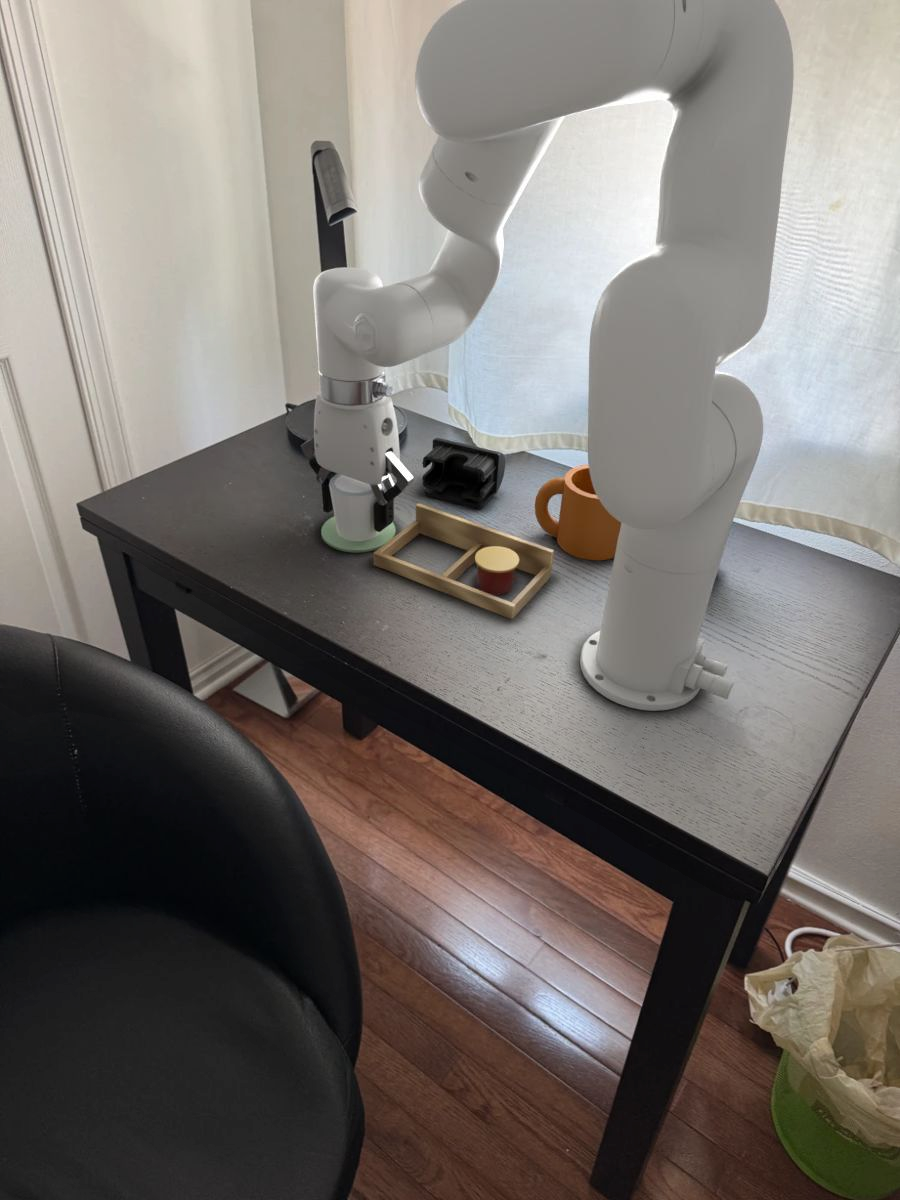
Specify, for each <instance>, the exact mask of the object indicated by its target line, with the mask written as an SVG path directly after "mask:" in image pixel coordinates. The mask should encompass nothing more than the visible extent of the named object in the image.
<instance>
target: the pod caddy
mask: <svg viewBox="0 0 900 1200" xmlns="http://www.w3.org/2000/svg"><path fill="white" fill-rule="evenodd" d="M420 534H421V535H424V536H426V537H429V538H432V539H434V540H437V541H440V542H443V543H445V544H448V545H451V546H454V547H456V548H459V549H462V550H465V551H466V552H465V553H464V554H463V555H462V556H461V557H460V558H458V559H457V560H456V561H455V562H454V563H453V564H452V565H450V567H448V568H447V569H446V570H445V571H444V572H443V573H442V574H438V573H436V572H434V571H431V570H428V569H425V568H423V567H421V566H418V565H415V564H414V563H413V564H412V563H411V562H407V561H405V560H402V559H400V558H397V557H394V556H393V555H394V554H396V553H397V552H399V550H400V549H402V548H404V547H405V546H406V545H407V544H408V543H409V542H411V541H412V540H413V539H415V538H416V537H418V535H420ZM490 546H500V547H505V548H508V549H511V550H512V551H514V552H515V553H516V554H517V555H518V557H519V564H518V566H517V567H516V568H515V569H517V570H520V571H523V572H526V573H528V574H531V575H534V577H533V578H532V579H531V580H530V581H529V582H528V584H527V585H526V586H524V588H523V589H521V591H520V592H519V593H518V594H517V595H516V596H515V597H514V598H513V599H512V601H509V600H506V599H504V598H502V597H498V596H497V595H494V594H489V593H486V592H484V591H482V590H481V589H479V588H475V587H473V586H469V585H467V584H464V583H462V582H460V581H457V579H458V578H460V577H461V576H462V575H463V574H464V573H465V572H466V571H467V570H468V569H469V568H470V567H471V566H472V565H473V564H475V563H476V562H475V555H476V553H477V552H478V551H479V550H481V549H483V548H485V547H490ZM372 555H373V557H372V558H373V559H372V560H373V566H375V567H378V568H381V569H382V570H386V571H388V572H390V573H393V574H396V575H398V576H401V577H403V578H405V579H408V580H411V581H413V582H416V583H418V584H421V585H423V586H425V587H429V588H431V589H434V590H436V591H439V592H441V593H444V594H446V595H449V596H452V597H454V598H456V599H459V600H462V601H464V602H467V603H469V604H472V605H474V606H476V607H479V608H482V609H484V610H487V611H490V612H492V613H494V614H497V615H500V616H502V617H505V618H507V619H510V620H513V619H514V618H515V617H516V616H517V615H518V614H519V613H520V612H521V611H522V610H523V608H524V607H525V606H526V605H527V604H528V603H530V601H531V599H533V598H534V596H535V595H536V594H537V593H538V592H539V591H540V590H541V589H542V588H543V586H544V585H545V584H546V583H547V582H549V580H550V579H551V576H552V571H553V570H552V569H553V563H554V555H555V549H553V548H549V547H546V546H543V545H540V544H538V543H535V542H532V541H529V540H526V539H523V538H521V537H518V536H515V535H511V534H509V533H506V532H504V531H500V530H497V529H494V528H492V527H488V526H485V525H482V524H480V523H477V522H474V521H471V520H468V519H466V518H462V517H459V516H457V515H454V514H451V513H448V512H445V511H443V510H442V511H441V510H439V509H437V508H434V507H431V506H428V505H425V504H421V503H417V504H415V520H414V521H413V522H412V523H410V524H409V525H408V526H407V527H405V528H404V529H402V530H401V531H400V532H398V533H397V534H395V537H393V538H392V539H391V540H390V541H388V542H387V543H386V544H384V545H383V546H382V547H380V548H379V549H377V550H374V551H373V552H372Z"/></svg>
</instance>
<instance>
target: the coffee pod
mask: <svg viewBox="0 0 900 1200" xmlns="http://www.w3.org/2000/svg"><path fill="white" fill-rule="evenodd" d="M474 563H475V564H476V566H477V570H476V586H477V587H478V589H479V590H480V591H483V592H486V593H488V594H491V595H503V594H507V593H509V592H510V591H511V590H512V589H513V587H514V583H515V573H516V569H517V568H516V567H517V566H518V564H519V557H518V555H517V554H516V553H515V552H514V551H512V550H511V549H508V548H505V547H500V546H490V547H485V548H483V549H481V550H479V551H478V552H477V553H476V555H475V562H474Z"/></svg>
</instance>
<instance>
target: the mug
mask: <svg viewBox="0 0 900 1200" xmlns="http://www.w3.org/2000/svg"><path fill="white" fill-rule="evenodd" d="M556 495H561V501H560V509H559V516H558V521H557V520H556V519H554V518H553V517H552V516H551V514H550V511H549V503H550V501H551V499H552V498H553V497H554V496H556ZM534 514H535V517H536V520H537V522H538V525H539V526H540V528H541V529H542V530H543V531H544V532H545V533H546V534H548V535H550V536H551V537H553V538H556V542H557V544H558V546H559V547H560V548H561V550H563V551H564V552H566V553H567V554H568V555H571V556H573V557H575V558H578V559H582V560H586V561H606V560H611V559H614V558H615V552H616V547H617V542H618V537H619V533H620V528H621V522H620V521H618V520H617V519H615V518H614V517H613V516H612V515H611V514H610V513H609V512H608V511H607V510H606V509H605V508H604V506H603V505H602V503H601V502H600V500H599V499H598V497H597V495H596V493H595V490H594V487H593V484H592V481H591V477H590V471H589V464H583V465H578V466H575V467H573V468H570V470H568V471H567V472H565V475H564V477H555V478H552V479H548V481H546V482H545V483H543V485H542V486H541V487H540V488H539V490H538V492H537V494H536V496H535V500H534Z"/></svg>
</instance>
